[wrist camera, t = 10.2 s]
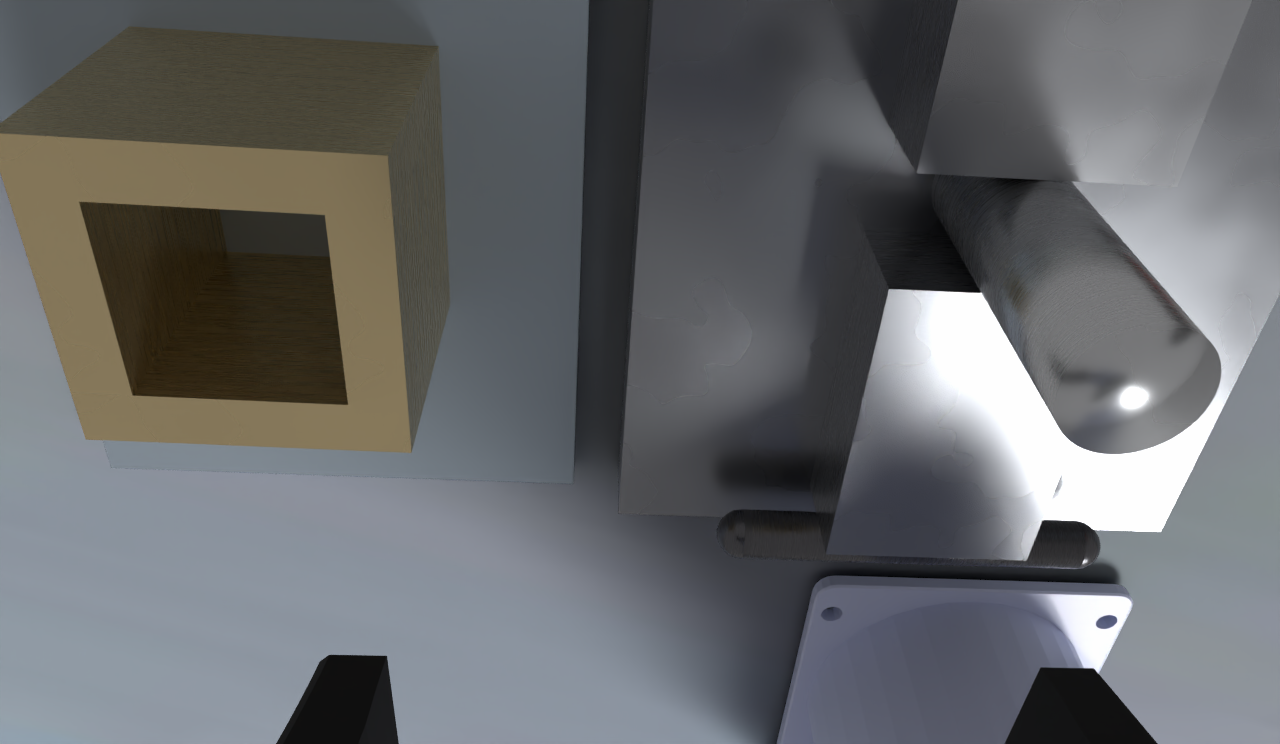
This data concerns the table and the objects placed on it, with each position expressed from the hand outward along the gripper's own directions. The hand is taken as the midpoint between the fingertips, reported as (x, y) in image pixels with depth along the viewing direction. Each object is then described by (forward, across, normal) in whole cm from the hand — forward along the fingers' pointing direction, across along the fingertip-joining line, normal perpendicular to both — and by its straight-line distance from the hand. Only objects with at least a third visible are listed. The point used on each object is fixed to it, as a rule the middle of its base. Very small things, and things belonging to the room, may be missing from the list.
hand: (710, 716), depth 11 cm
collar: (+10, +7, -2) cm, 12 cm away
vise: (+10, -5, -2) cm, 12 cm away
